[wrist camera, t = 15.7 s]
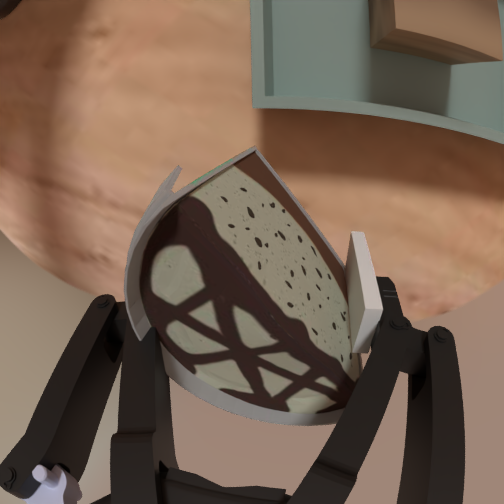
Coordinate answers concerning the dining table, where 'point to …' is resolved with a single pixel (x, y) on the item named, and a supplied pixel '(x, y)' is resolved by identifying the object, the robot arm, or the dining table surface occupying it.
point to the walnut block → (438, 29)
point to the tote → (365, 70)
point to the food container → (244, 296)
